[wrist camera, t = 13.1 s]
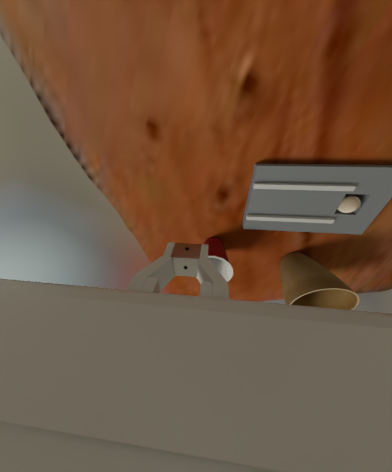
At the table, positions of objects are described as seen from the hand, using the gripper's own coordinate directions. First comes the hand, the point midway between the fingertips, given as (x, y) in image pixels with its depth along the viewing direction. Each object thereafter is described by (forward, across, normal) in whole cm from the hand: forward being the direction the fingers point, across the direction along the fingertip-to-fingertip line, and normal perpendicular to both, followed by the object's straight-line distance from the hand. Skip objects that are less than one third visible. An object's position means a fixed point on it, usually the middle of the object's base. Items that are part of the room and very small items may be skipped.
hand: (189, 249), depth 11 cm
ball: (+27, -34, +7) cm, 44 cm away
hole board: (+29, -26, +7) cm, 40 cm away
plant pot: (+29, -30, +28) cm, 50 cm away
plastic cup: (+29, -3, +23) cm, 37 cm away
